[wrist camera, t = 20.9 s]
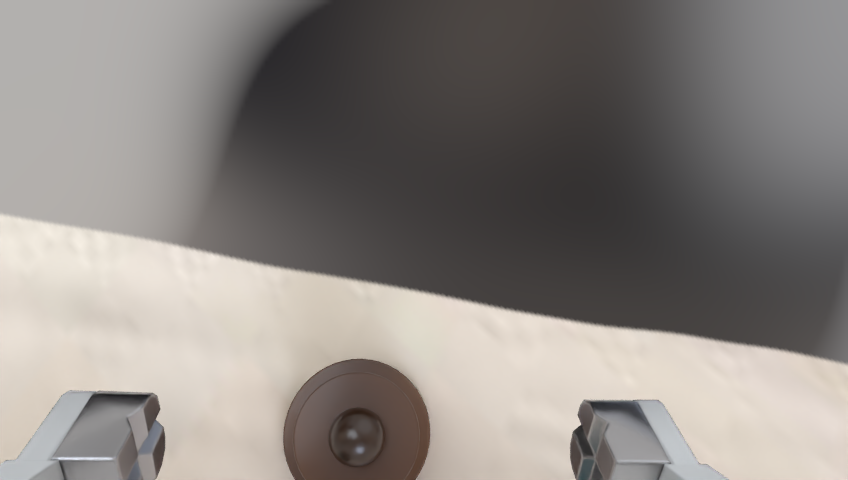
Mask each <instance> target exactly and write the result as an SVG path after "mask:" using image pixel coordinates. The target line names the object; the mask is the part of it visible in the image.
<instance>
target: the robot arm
mask: <svg viewBox="0 0 848 480" xmlns="http://www.w3.org/2000/svg"><path fill="white" fill-rule="evenodd" d="M159 411H160V405H159V401H158V397H157V395H155V394H153V393H139V392H113V391H98V392H95V391H74V390H70V391H68V392H66V393H65V394H63V395H62V396H61V397H60V399H59V400H58V401H57V403H56V404H55V406H54V407H53V408H52V410H51V411H50V413H49V414H48V415H47V417H46V418H45V420H44V421H43V422H42V424H41V425H40V427H39V428H38V429H37V431H36V432H35V434H34V435H33V436H32V438H31V439H30V441H29V442H28V444H27V445H26V446H25V448H24V449H23V451H22V452H21V453H20V455H19V456H18V458H17V459H16V460H6V461H4V462H3V463H1V464H0V480H155V479H156V478H157V476H158V473H159V471H160V468H161V466H162V461H163V456H164V451H165V433H164V427H163V426H162V425H161V424H160V423H159V422H158V421H156V420H155V419H156V417H157V415H158V413H159ZM578 417H579V419H580V422H581V425H580V426H579V427H578V428H577V429H575V430H574V431H573V434H572V439H571V443H570V459H571V464H572V469H573V472H574V475H575V478H576V480H729V479H727V478H726V477H724V476H723V475H722V474H720V473H719V472H717V471H716V470H714V469H713V468H712V467H710V466H709V465H707V464H699V462H698V460H697V459H696V457H695V456H694V454H693V452H692V451H691V449H690V447H689V446H688V444H687V442H686V441H685V439H684V437H683V436H682V434H681V432H680V431H679V429H678V427H677V426H676V424H675V423H674V421H673V419H672V418H671V416H670V414H669V413H668V411H667V409H666V408H665V406H664V404H663V403H662V402H660V401H659V400H633V401H632V400H584V401H583V402H582V403H581V405H580V408H579V412H578Z"/></svg>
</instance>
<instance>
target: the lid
mask: <svg viewBox="0 0 848 480" xmlns="http://www.w3.org/2000/svg"><path fill="white" fill-rule="evenodd" d="M429 442H430V424H429V418H428V413H427V410H426V407H425V404H424V402H423V400H422V397H421V396H420V394H419V392H418V391H417V389H416V388H415V387H414V385H413V384H412V383H411V382H410V381H409V380H408V379H407V378H406V377H405V376H404V375H403V374H402V373H400V372H399V371H398V370H396V369H394V368H392V367H391V366H389V365H386V364H384V363H381V362H378V361H373V360H367V359H351V360H345V361H341V362H338V363H334V364H332V365H330V366H328V367H326V368H324V369H322V370H321V371H319V372H317V373H316V374H315V375H314V376H312V377H311V378H310V379H309V380H308V381H307V382H306V383H305V384H304V385H303V386H302V388H301V389H300V390H299V391H298V393H297V394H296V396H295V398H294V399H293V401H292V403H291V406H290V408H289V410H288V413H287V417H286V420H285V426H284V437H283V443H284V452H285V456H286V461H287V464H288V466H289V469H290V471H291V473H292V475H293V477H294V479H295V480H415V479H416V478H417V476H418V475H419V473H420V471H421V469H422V467H423V465H424V462H425V459H426V457H427V453H428V448H429Z"/></svg>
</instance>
